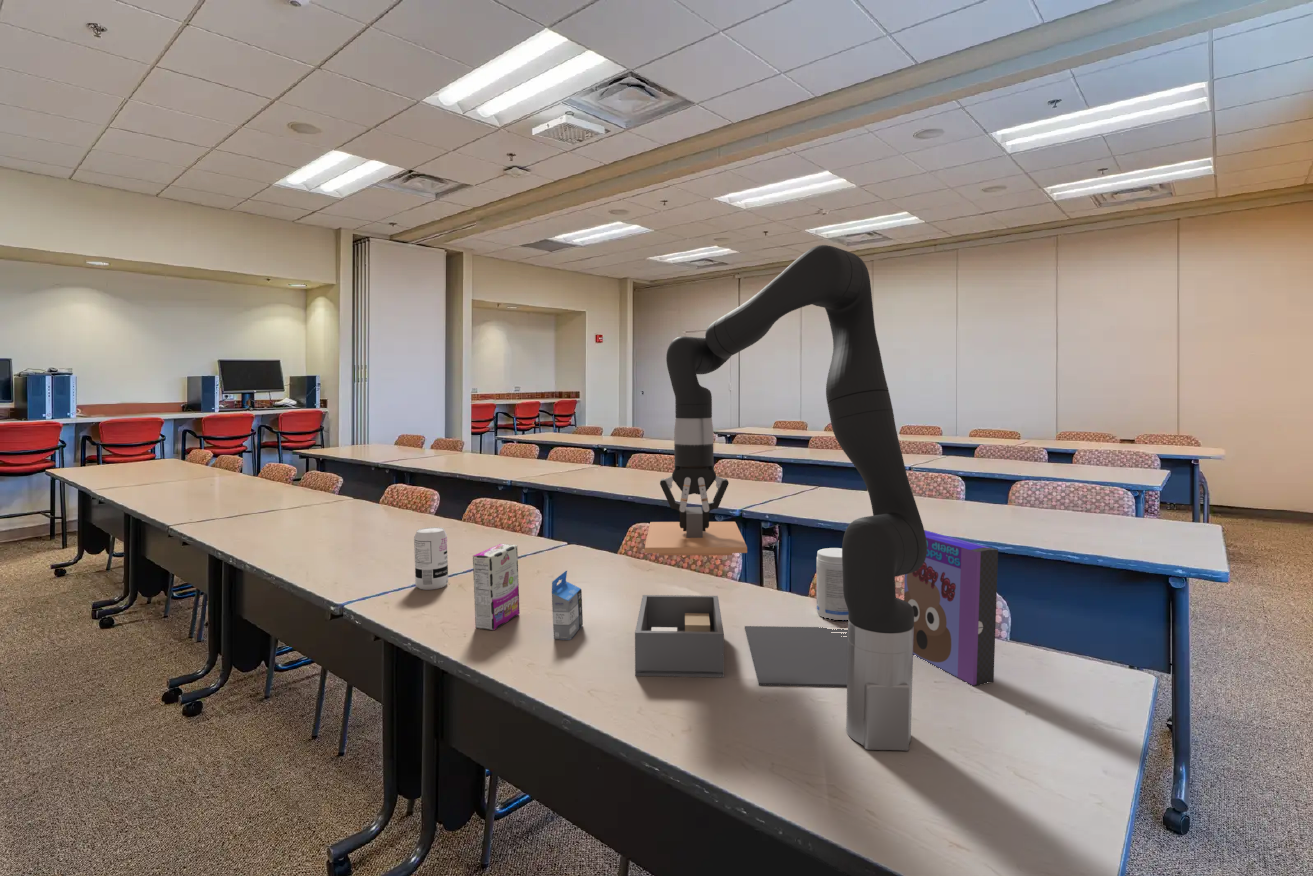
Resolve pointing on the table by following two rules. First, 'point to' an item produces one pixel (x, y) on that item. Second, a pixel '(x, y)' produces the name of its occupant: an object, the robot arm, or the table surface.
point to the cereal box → (955, 607)
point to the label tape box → (566, 608)
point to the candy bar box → (496, 586)
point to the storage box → (679, 636)
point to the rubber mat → (799, 655)
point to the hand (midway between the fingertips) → (694, 530)
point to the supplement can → (431, 558)
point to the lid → (694, 537)
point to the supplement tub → (830, 584)
